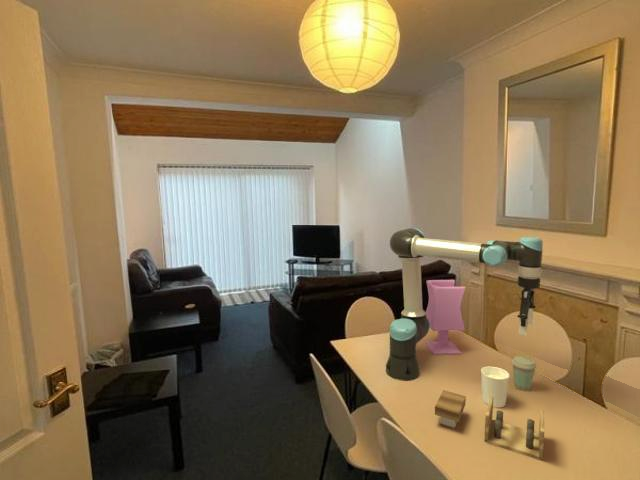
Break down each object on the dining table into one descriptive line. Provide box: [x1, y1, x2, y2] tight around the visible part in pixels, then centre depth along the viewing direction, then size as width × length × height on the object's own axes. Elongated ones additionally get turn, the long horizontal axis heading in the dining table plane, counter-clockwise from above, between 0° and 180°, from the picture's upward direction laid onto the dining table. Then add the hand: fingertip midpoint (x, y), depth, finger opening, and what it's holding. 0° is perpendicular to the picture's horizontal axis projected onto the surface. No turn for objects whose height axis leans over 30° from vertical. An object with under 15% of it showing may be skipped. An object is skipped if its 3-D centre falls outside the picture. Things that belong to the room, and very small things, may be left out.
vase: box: [425, 279, 466, 356], centre depth 179 cm, size 16×16×35 cm
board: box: [434, 389, 467, 423], centre depth 124 cm, size 12×8×3 cm, turn 147°
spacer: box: [439, 416, 458, 429], centre depth 124 cm, size 8×5×4 cm, turn 148°
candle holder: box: [480, 365, 510, 409], centre depth 134 cm, size 10×10×12 cm
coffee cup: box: [511, 355, 537, 392], centre depth 143 cm, size 8×8×12 cm
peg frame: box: [484, 396, 545, 462], centre depth 113 cm, size 16×12×10 cm
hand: (525, 328), depth 138 cm, fingers open, 13 cm apart
